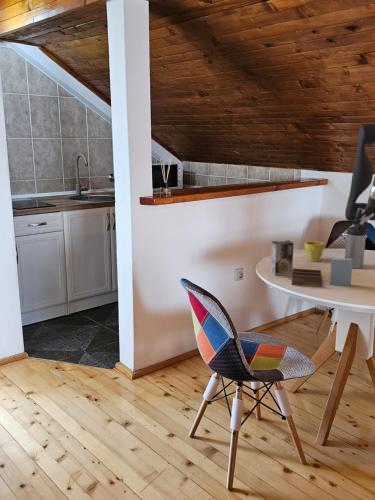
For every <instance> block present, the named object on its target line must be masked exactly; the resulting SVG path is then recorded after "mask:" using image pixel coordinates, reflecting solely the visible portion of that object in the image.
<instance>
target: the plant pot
mask: <svg viewBox="0 0 375 500" xmlns="http://www.w3.org/2000/svg"><path fill="white" fill-rule="evenodd" d="M325 244H326V243H324V242H321V241H316V240H315V241H313V240H312V241H311V240H310V241H305V242H304V249H305V252H306V257H307V261H308V262H313V263H317V262H318V263H319V262H320V261H321V259H322V255H323V252H324V250H325Z"/></svg>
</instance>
